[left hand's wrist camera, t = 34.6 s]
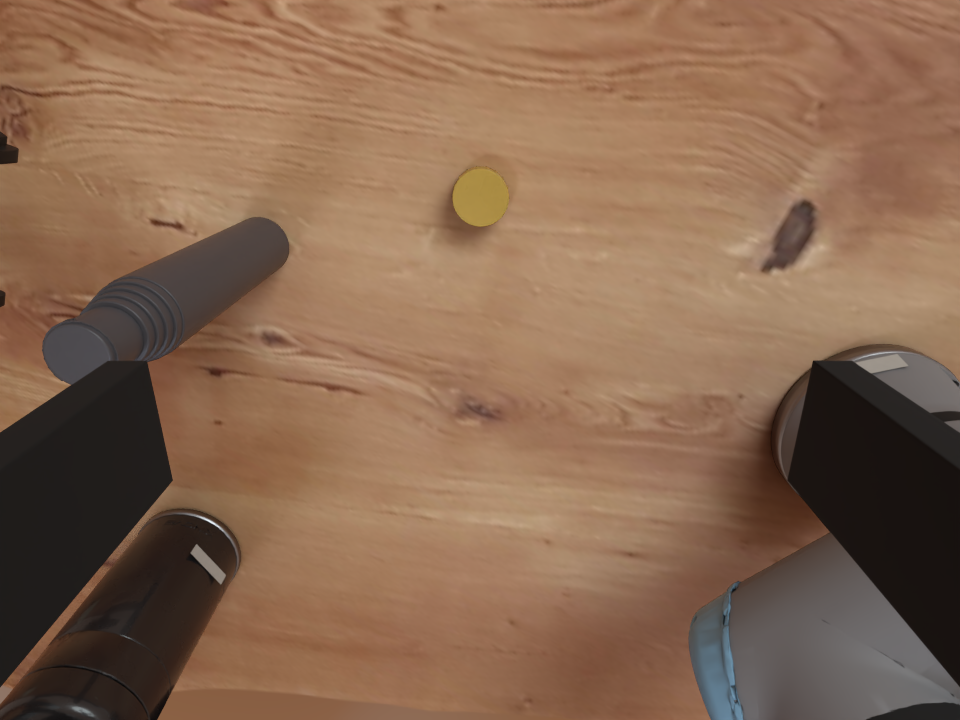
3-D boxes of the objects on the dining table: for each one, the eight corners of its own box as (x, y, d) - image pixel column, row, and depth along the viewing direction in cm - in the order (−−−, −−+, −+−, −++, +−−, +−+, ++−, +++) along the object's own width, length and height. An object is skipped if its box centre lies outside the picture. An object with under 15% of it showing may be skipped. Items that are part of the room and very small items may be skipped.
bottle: (258, 205, 46) (63, 287, 25) (300, 247, 48) (150, 361, 26) (221, 242, 47) (3, 352, 26) (263, 283, 49) (89, 421, 27)
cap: (441, 190, 46) (439, 193, 44) (485, 153, 45) (485, 155, 43) (476, 233, 47) (475, 238, 45) (519, 199, 46) (521, 202, 44)
